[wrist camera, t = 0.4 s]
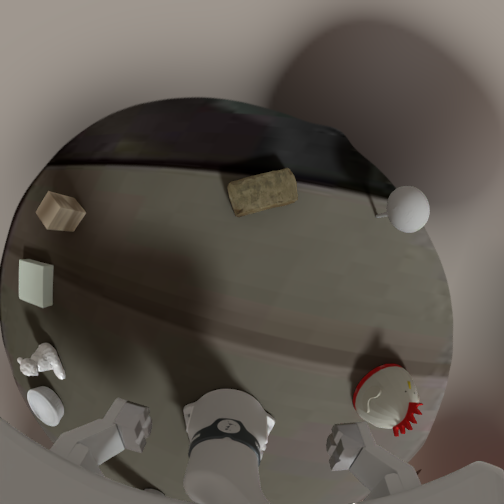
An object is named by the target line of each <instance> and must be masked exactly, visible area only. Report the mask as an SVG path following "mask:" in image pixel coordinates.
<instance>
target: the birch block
mask: <svg viewBox="0 0 504 504" xmlns="http://www.w3.org/2000/svg"><path fill="white" fill-rule="evenodd" d="M36 214H37V215H38V217H39V218H40V220H41V221H42V223H43V224H44V226H45V227H46V229H47V230H60V231H73V232H74V230H75V229H76V227H77V226H78V224H79V223H80V221H81V220H82V219H83V217H84V216H85V214H86V212H85V210H84V209H83V208H82V207H81V206H80V204H79V203H78V202H77V201H76V199H75V198H73V197H69V196H65V195H62V194H58V193H54V192H51V191H48V193H47V194H46V196H45V198H44V199H43V201H42V202H41V204H40V206H39V208H38V209H37V211H36Z"/></svg>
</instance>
